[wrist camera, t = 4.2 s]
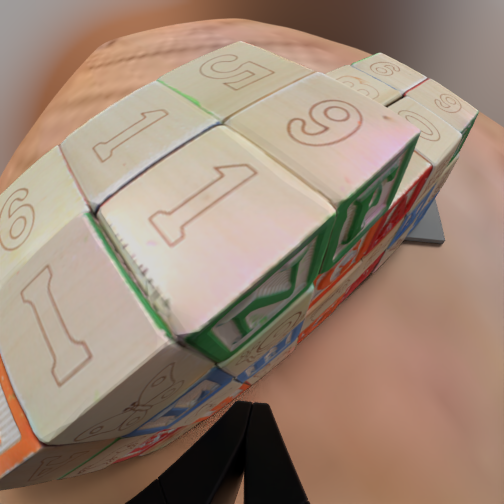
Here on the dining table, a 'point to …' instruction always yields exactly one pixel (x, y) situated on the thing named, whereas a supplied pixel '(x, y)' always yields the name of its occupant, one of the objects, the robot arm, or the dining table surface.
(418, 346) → the dining table surface
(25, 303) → the stack of blocks
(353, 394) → the dining table surface
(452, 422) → the dining table surface
